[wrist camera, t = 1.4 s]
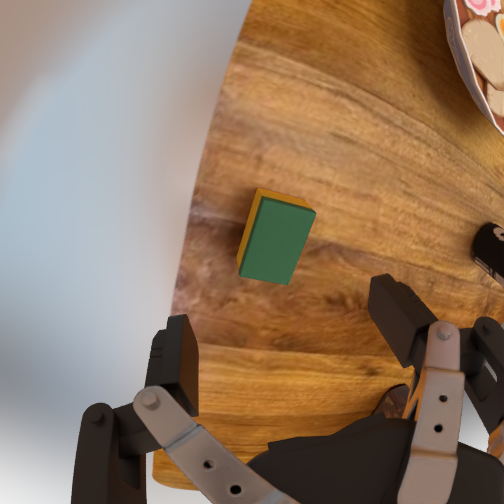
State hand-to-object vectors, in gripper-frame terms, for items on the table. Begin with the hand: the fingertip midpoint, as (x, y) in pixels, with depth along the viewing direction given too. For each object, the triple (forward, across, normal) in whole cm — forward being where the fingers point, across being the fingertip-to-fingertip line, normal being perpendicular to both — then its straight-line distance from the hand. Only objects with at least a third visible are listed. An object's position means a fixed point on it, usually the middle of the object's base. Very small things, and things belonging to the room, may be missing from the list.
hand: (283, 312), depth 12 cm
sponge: (+15, -2, +3) cm, 16 cm away
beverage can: (+15, -33, +10) cm, 38 cm away
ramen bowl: (+15, -30, -16) cm, 37 cm away
